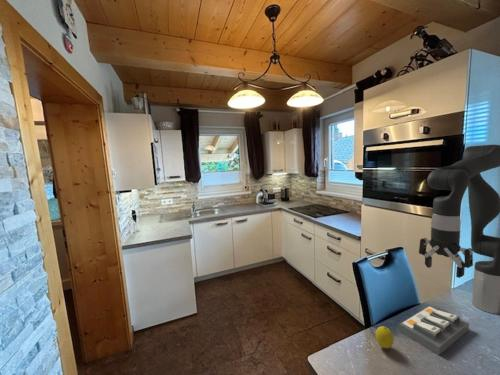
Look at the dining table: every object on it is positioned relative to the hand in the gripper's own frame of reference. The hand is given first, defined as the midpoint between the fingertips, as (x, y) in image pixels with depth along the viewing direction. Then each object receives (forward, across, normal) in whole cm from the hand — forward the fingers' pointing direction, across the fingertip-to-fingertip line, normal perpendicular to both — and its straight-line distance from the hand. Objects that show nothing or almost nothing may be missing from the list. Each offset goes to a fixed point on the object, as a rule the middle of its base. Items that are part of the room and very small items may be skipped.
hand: (443, 271), depth 77 cm
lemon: (+28, +9, +18) cm, 35 cm away
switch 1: (+24, +4, 0) cm, 24 cm away
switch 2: (+24, +4, -14) cm, 28 cm away
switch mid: (+24, +4, -7) cm, 25 cm away
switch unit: (+28, +5, -6) cm, 29 cm away
